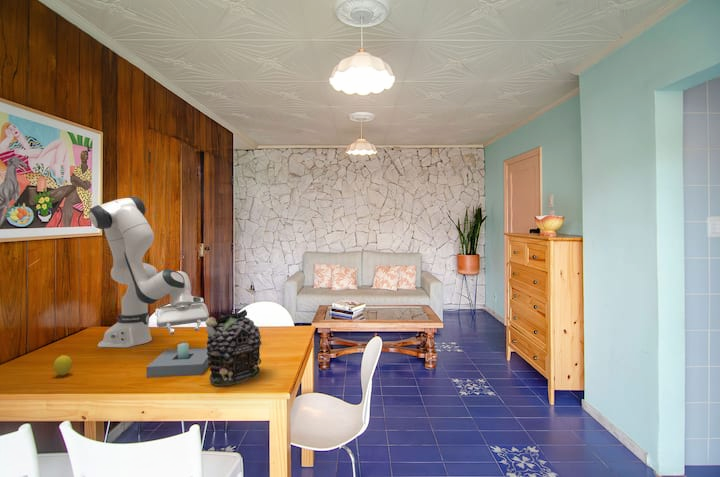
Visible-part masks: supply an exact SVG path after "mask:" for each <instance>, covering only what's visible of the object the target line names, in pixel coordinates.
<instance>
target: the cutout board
mask: <svg viewBox="0 0 720 477" xmlns="http://www.w3.org/2000/svg"><path fill="white" fill-rule="evenodd" d="M207 361H208V355H207V348H206V347H203V348H202V347H201V348H199V347H198V348H189V359H178V348H176V349H165V350H164V351H163V352H162V353H161V354H160V355H158V356H157V357H156V358H154V360H153V361H151V362H150V363H149V364H148V365H146V378H161V377H163V376H164V377H179V376H180V377H181V376H184V377H185V376H199V375H200V376H201V375H203V374H204V373H205V372H206V371H207V369H208V367H210V366H209V365H208V362H207ZM164 377H163V378H164Z"/></svg>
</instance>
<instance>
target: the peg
mask: <svg viewBox="0 0 720 477" xmlns="http://www.w3.org/2000/svg"><path fill="white" fill-rule="evenodd" d="M177 349H178V359H189V349H190V346H189V343H188V342H181V343H179V344H177Z"/></svg>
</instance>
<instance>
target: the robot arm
mask: <svg viewBox="0 0 720 477" xmlns="http://www.w3.org/2000/svg"><path fill="white" fill-rule="evenodd" d="M146 209H147V208H146V206H145V203H144V201H143V200H142V199H141V198H140V197H138V196H128V197H124V198H118V199H114V200H111V201H108V202H105V203H102V204H100V205H99V204H97V205H95V206H93V207H91V208H90V209H89V211H88V212H89V213H88V215H89V220H90V222H91V224H92V225H93V226H94V227H95V228H96V229H99V230H104V235H105V237H106V240H107V243H108V246H109V248H110V249H109V250H110V251H111V254H112V262H113V266H112V268H111V270H110V277H111V279H112V280H113V281H115V282H117V283H118V284H121V285H127V289H126V292H125V294H124V295H123V296H122V297H121V300H120V301H121V313H120V314H119V315H117V316H116V318H115V320H117V322H116V323H115V324H113V325H111V327H109V328H108V329H107V330H106V331H105V332H104V336H103V340H101V341H99V342H98V344H97V348H130V347H134V346H135V347H136V346H140V345H143V344H144V345H145V344H146V343H150V342H151V341H152V340H153V338H152V336H151V331H150V326H149V324H150V313H149V310H148V309H149V305H153V304H155V303H157V302H158V301H159V300H161V299H162V298H163V297H166V296H168V295H169V296H170V305H164V306H159V307H158V308H155V310H154V311H155V316H156V327H158V328H164V327H165V328H166V330H167V331H168V332H169V335H175V329H174V328H171V327H174V326H181V325H187V324H196V325H194V332H199V330H200V328H199V327H200V325H201V323H203V322H206V320H207V319H209V318H210V314H209V310H208V306H207V304H205V302H204V301H205V300H204V298H203V297H201V296H200V297H198V296H193V295H192V293H191V292H192V284H191V281H190V280H191V279H190V278H189V276H188V273H187V272H185V271H182V270H177V271H176V270H173V269H169V268H166V269H163V270H162V271H160V272H158V269H157V268H156V267H155V266H154V265H152V264H150V263H146V262H143V259H144V256H145V254H146V253H147V251H148V250H149V248H150V247H151V246H152V244H153V242H154V239H155V235H154V231H153V229H152V227H151V225H150V224H149V222H148V220H147V218H146V217H145V214H146V212H147V210H146Z"/></svg>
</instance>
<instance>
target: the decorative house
mask: <svg viewBox="0 0 720 477" xmlns="http://www.w3.org/2000/svg"><path fill="white" fill-rule="evenodd" d="M246 316H248V312H247V310H246V309H244V310H242V311H240V312H238V313H237V312H234V313H222V314H221V315H220V319H219V321H218V319H216V318H215V317H213V316H212V317H210V316H209V319H207V320H206V321H205V325H206V333H207V339H206V347H205V348H207V355H208V361H207V362H208V365H209V366H208V367H209V371H210V372H211V373H210V375H209V381H210V382H211V384H212V385H215V386H230V385H234V384H238V383H241V382H245V381H247V380H250V379H253V378H255V377H258V375H259V374H260V371H261V367H260V366H259V365H261V363H262V359H261V358H260V356H261V355H260V348H261V347H260V346H262V344H263V342H262V341H261V339H262V335H261V331H260V330H259V327H258V326H257V325H256V324H255V322H254V320H252V319H250V318H249V317H246Z"/></svg>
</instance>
